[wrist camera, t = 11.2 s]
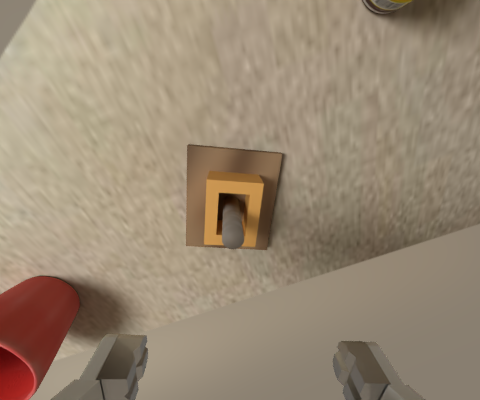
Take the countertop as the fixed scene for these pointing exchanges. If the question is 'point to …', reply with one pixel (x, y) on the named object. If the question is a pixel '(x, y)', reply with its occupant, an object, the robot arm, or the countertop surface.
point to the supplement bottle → (385, 5)
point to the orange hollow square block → (234, 185)
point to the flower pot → (32, 332)
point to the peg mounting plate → (229, 204)
